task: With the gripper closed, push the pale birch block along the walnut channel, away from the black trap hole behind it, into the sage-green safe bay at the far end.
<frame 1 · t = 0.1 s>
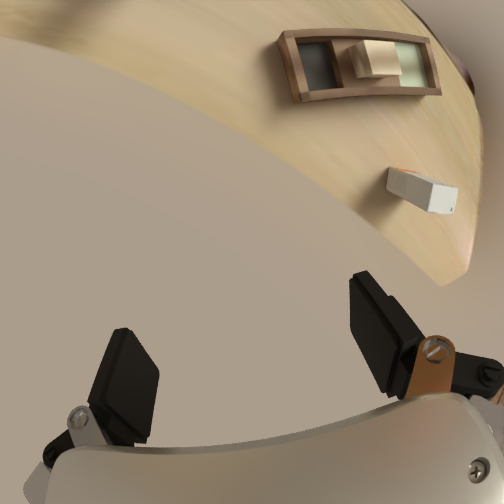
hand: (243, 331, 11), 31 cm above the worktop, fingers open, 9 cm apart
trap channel: (362, 65, 31), on the worktop
birch block: (366, 62, 29), point 2 cm above the worktop, touching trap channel
skincare box: (399, 179, 41), on the worktop
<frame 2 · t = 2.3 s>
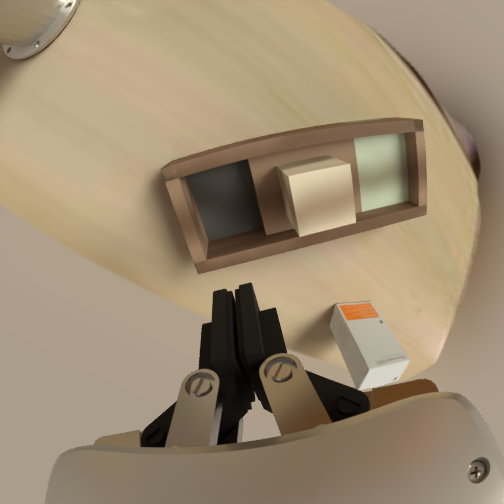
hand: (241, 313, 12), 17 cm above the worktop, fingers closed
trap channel: (304, 178, 27), on the worktop
birch block: (307, 185, 25), point 2 cm above the worktop, touching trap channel
skincare box: (349, 312, 36), on the worktop
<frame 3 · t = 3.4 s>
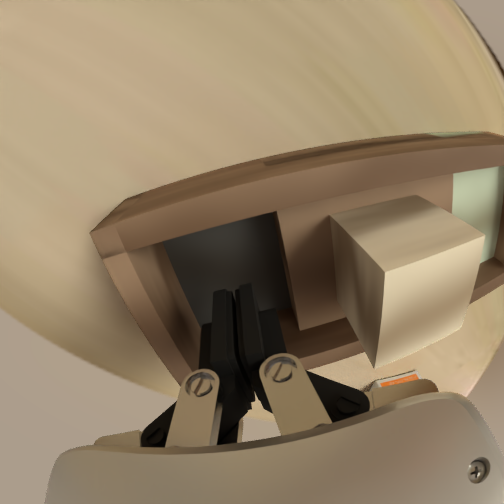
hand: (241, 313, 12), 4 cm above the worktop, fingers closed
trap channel: (365, 228, 15), on the worktop
birch block: (377, 249, 13), point 2 cm above the worktop, touching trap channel
skincare box: (388, 384, 24), on the worktop
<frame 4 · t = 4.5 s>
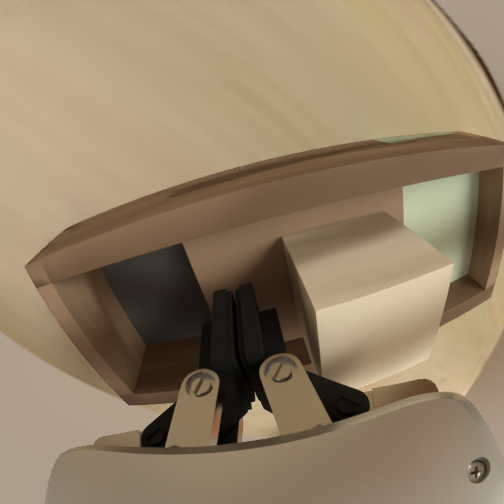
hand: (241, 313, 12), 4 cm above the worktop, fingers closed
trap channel: (301, 249, 15), on the worktop
birch block: (340, 270, 13), point 3 cm above the worktop, touching gripper
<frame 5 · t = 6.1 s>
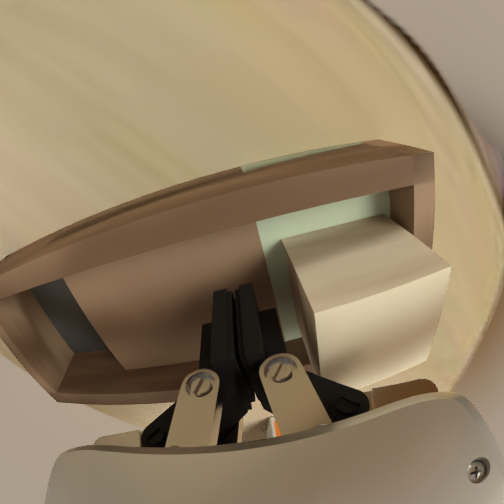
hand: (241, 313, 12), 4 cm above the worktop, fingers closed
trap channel: (178, 281, 15), on the worktop
birch block: (339, 272, 13), point 2 cm above the worktop, touching gripper, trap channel
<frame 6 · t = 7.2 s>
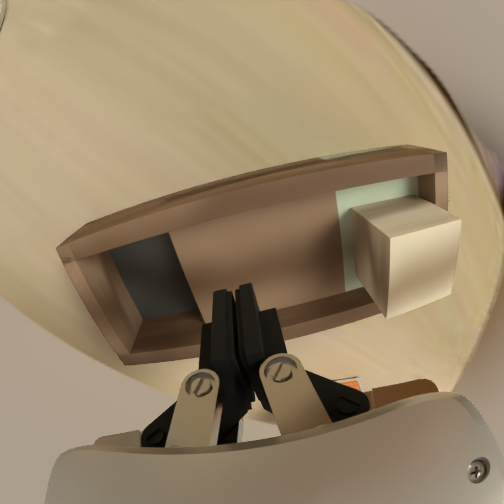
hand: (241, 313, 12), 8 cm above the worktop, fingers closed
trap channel: (262, 244, 19), on the worktop
birch block: (385, 235, 17), point 2 cm above the worktop, touching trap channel
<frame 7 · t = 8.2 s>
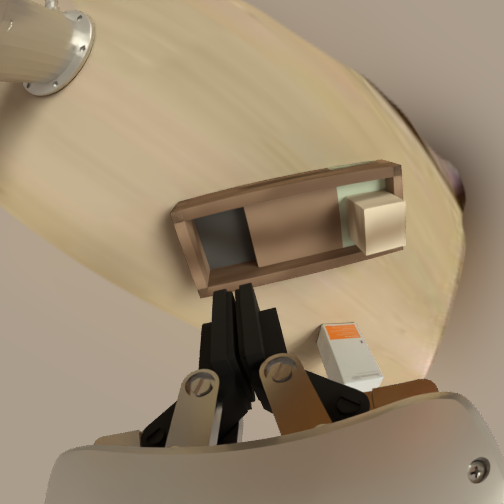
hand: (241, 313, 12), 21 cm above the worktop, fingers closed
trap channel: (293, 218, 32), on the worktop
birch block: (366, 213, 29), point 2 cm above the worktop, touching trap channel
skincare box: (335, 331, 40), on the worktop
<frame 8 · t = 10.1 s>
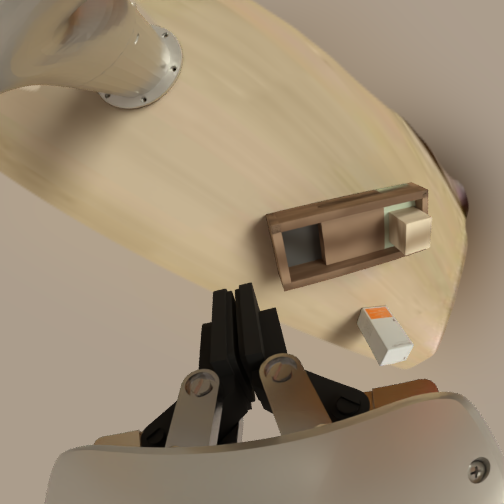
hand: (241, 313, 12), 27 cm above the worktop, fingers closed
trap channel: (349, 227, 40), on the worktop
birch block: (401, 223, 38), point 2 cm above the worktop, touching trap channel
skincare box: (370, 313, 50), on the worktop
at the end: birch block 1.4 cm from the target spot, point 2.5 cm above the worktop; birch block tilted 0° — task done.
